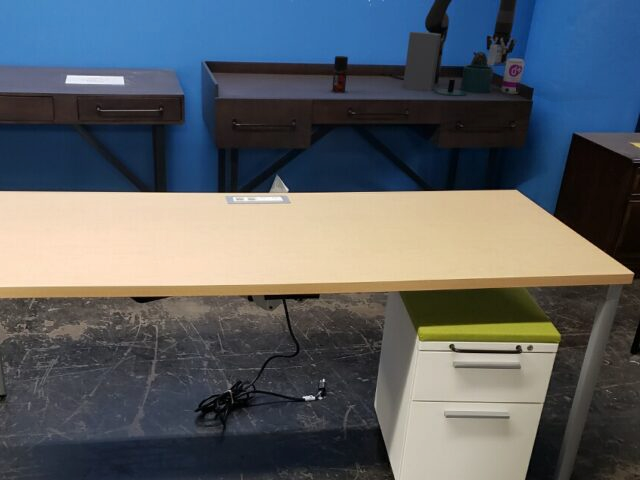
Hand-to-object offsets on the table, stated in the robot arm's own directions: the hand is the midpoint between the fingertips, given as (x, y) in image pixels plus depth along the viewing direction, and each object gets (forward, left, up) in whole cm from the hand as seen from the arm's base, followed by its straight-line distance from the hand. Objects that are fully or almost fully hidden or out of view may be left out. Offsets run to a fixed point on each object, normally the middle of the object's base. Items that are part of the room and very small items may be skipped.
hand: (497, 61), depth 355 cm
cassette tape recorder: (-32, -13, -16) cm, 38 cm away
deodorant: (-51, -50, -16) cm, 73 cm away
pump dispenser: (-24, +26, -16) cm, 39 cm away
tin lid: (-16, -10, -15) cm, 24 cm away
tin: (-13, +7, -16) cm, 21 cm away
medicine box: (0, 0, -2) cm, 2 cm away
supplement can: (-1, +19, -16) cm, 25 cm away
